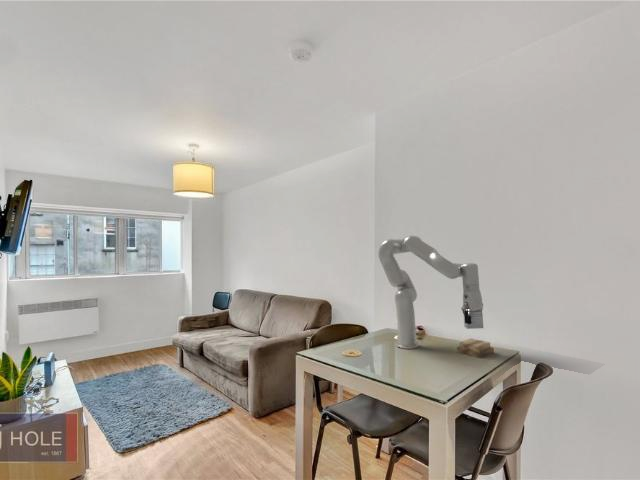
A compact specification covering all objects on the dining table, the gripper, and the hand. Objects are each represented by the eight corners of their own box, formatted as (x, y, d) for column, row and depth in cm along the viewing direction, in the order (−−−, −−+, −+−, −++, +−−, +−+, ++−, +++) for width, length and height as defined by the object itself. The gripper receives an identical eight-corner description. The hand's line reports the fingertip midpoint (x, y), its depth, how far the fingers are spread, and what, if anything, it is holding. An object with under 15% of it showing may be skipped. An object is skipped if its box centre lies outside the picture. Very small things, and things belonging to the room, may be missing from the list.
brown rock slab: (457, 352, 163) (456, 342, 163) (471, 347, 169) (470, 337, 169) (480, 357, 152) (479, 347, 153) (493, 352, 159) (493, 342, 159)
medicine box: (480, 326, 163) (479, 309, 164) (483, 328, 159) (482, 311, 159) (464, 326, 164) (463, 309, 164) (467, 329, 160) (466, 311, 160)
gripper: (467, 290, 154) (470, 326, 153) (487, 286, 164) (490, 320, 163) (454, 289, 161) (456, 323, 160) (474, 285, 170) (476, 318, 169)
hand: (473, 322), depth 161 cm, fingers closed on medicine box, 8 cm apart
